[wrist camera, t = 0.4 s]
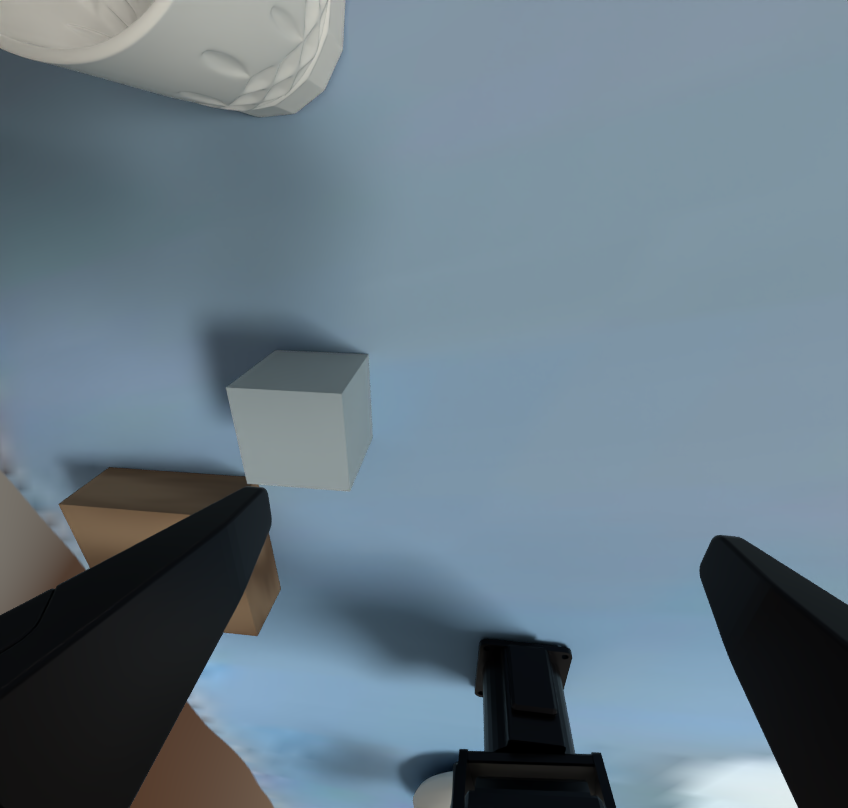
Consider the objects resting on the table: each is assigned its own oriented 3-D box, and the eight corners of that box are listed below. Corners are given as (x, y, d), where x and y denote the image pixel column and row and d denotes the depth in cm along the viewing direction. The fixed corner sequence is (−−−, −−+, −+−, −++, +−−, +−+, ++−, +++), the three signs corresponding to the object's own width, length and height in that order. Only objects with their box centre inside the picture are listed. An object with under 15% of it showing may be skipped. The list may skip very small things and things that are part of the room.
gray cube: (373, 436, 24) (350, 491, 19) (289, 431, 24) (247, 483, 19) (368, 353, 21) (341, 393, 17) (276, 349, 22) (225, 387, 17)
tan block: (282, 585, 30) (257, 636, 27) (156, 573, 31) (116, 620, 28) (259, 474, 26) (225, 517, 22) (113, 464, 27) (58, 504, 23)
